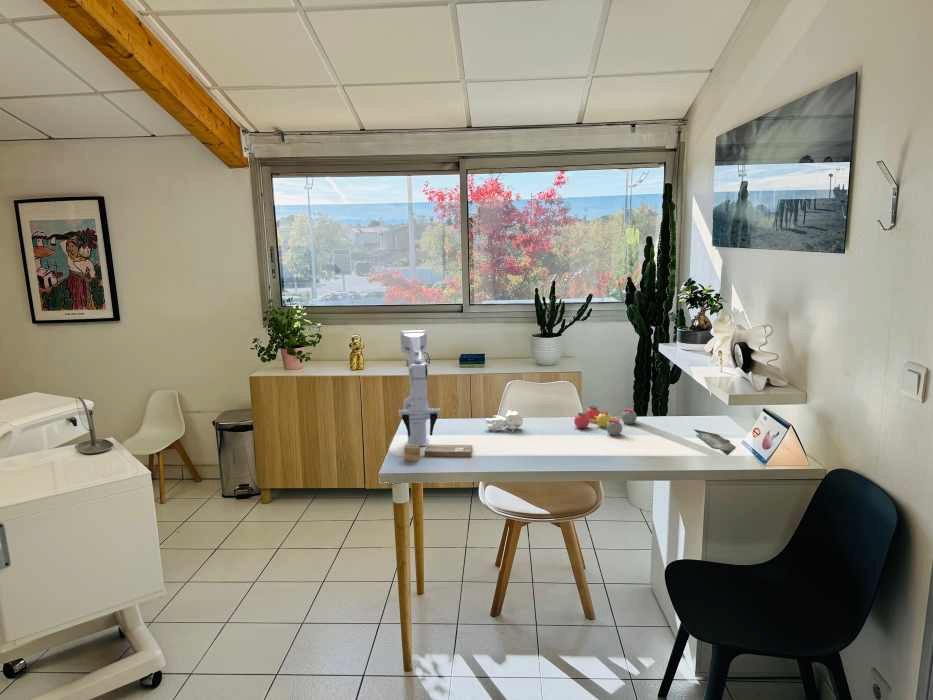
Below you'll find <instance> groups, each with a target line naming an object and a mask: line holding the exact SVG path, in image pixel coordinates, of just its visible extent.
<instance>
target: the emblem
mask: <svg viewBox="0 0 933 700" xmlns="http://www.w3.org/2000/svg"><path fill="white" fill-rule="evenodd" d="M692 430H693V431H694V430H695V431H694V432H696V435H695V436H696V437H697V438H698V439H700V440H701V441H702V442H703V441H704V442H703V443H705V444H706V445H707V446H709V448H711V449H714V450H719V451H721V452H722V453H724V454H725V455H727V456H728V455H729V454H730V453H731V452H732V451H733V450H735V448H736V446H735V445H733V444H732V443H731V442H730V440H729V439H726V438H723V436H721V435H720V434H717V433H713V432H707V431H703V430H699V429H695V428H693V429H692ZM698 433H699V434H698Z"/></svg>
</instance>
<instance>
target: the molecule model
mask: <svg viewBox="0 0 933 700" xmlns="http://www.w3.org/2000/svg"><path fill="white" fill-rule="evenodd" d="M620 419H621V420H622V421H623V422H622V423H625V424H627V425H633V424H634V423H635V422H636V421H637V413H636V412H635V409H634V408H629V407H627V408H625V409H624V411H623V412H622V413H621V416H619V417H616V416H615V417H612V416H611V414H610V413H609V412H608V411H600V410H599V408H598V407H597V406H596V405H589V406H588V407H587V409H586V410H585V412H577V414H576V415H575V417H574V419H573V420H574V422H573V423H574V425H575V427H576V428H577V429H581V428H584V429H586V428H588V426H589V424H590V423H591V424H592V423H597V424H598V426H600V427H601V428H606V432H607V433H608V434H609V435H610V436H612V437H613V436H616V435H617V436H619V435H620V434H621V433H622V432H623V425H622V423H621V422H620Z"/></svg>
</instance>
